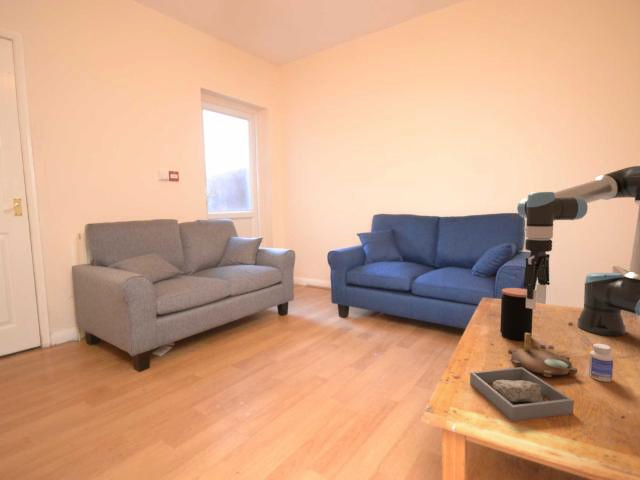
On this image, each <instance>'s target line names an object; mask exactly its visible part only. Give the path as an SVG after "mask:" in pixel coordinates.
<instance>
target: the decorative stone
mask: <svg viewBox="0 0 640 480" xmlns="http://www.w3.org/2000/svg"><path fill="white" fill-rule="evenodd" d="M492 388H493V389H494V390H496V391H497V392H498V393H499V394H500V395H502V396H503V397H504V398H505V399H506V400H508V401H509V402H510V403H519V402H521V403H523V402H524V403H527V404H528V403H537V402H544V397H545V396H544V395H543V394H542V392H541V388H540V385H539V384H536V383H532V382H529V381H523V380H516V381H509V380H496V381H495V382H493V383H492Z"/></svg>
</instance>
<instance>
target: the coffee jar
mask: <svg viewBox="0 0 640 480" xmlns="http://www.w3.org/2000/svg"><path fill="white" fill-rule="evenodd" d="M501 293H502V295H501V302H500V304H501V306H500V329H499V330H500V334H501V336H502V337H504V338H506V339H509V340H511V341H517V342H518V341H519V342H524V341H525V333H530V334H531V337H532V333H533V332H532V331H533V315H534V314H533V312H534V311H533V310H534V309H530V308H526V289H525V288H518V287H507V288H502V289H501Z"/></svg>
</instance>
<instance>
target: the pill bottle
mask: <svg viewBox="0 0 640 480" xmlns="http://www.w3.org/2000/svg"><path fill="white" fill-rule="evenodd" d="M592 345H593V346H592V350H591V351H590V352H589V366H588V367H589V368H588V370H589V371H588V374H589V377H591V378H592V379H594V380H596V381H600V382H603V383H604V382H606V383H609V382H612V381H613V377H614V376H613V374H614V355H612V354H611V350H612V347H611V346H609V345H608V344H604V343H593V344H592Z"/></svg>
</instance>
